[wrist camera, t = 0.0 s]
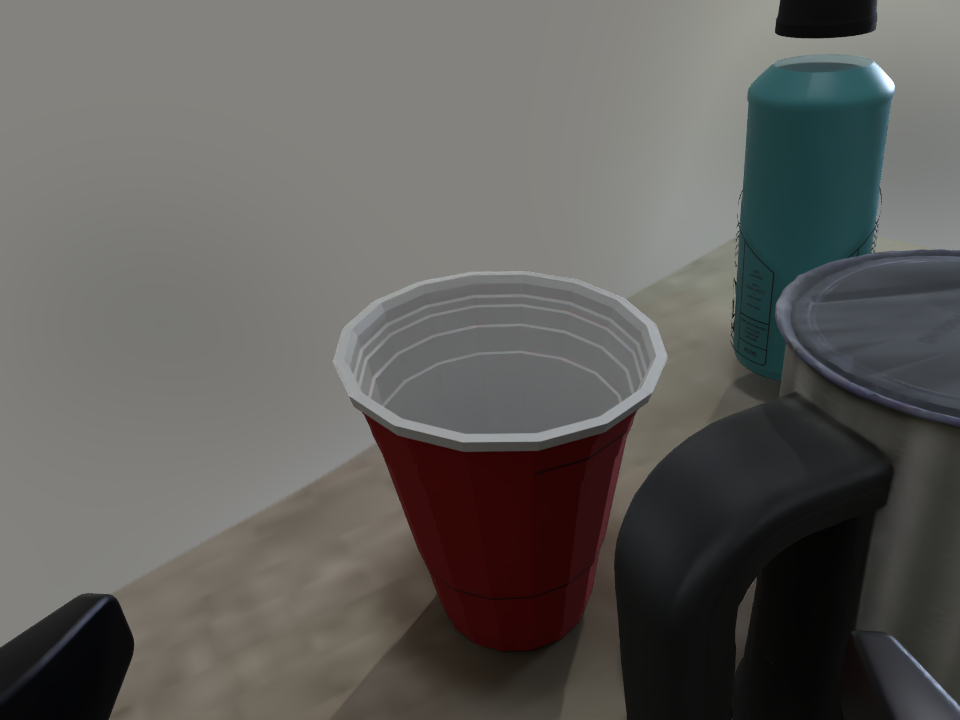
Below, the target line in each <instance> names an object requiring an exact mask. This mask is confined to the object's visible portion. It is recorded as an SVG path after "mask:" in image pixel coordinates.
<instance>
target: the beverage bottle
mask: <svg viewBox="0 0 960 720" xmlns="http://www.w3.org/2000/svg"><path fill="white" fill-rule="evenodd" d="M876 7H877V0H780V6H779V13H778V17H777V19H776V28H775V33H776V34H778V35H780V36H785V37H793V38H835V37H847V36H855V35H861V34H865V33H869V32H872V31H874V30H875V29H876V23H877V10H876V9H877V8H876ZM894 90H895V86H894V83H893V82H892V80H891V79H890V78H889V77H888V76H887V74H886V73H884V71H883V70H882V69H881V68H880V67H879V66H878V65H877V64H876V63H875V62H873V61H872V60H871V59H869V58H865V57H860V56H853V55H840V54H826V55H825V54H823V55H806V56H797V57H790V58H785V59H782V60H778V61H776V62H775V63H774V64H772V65H771V66H770V67H769V68H768V69H767V70H766V71H764V72H763V73H762V74H761V75H760V76H759V77H758V78H757V79H756V80H755V81H754V82H753V83H752V84H751V86H750V87H749V89H748V102H749V105H748V120H747V135H746V151H745V165H744V181H743V190H742V191H743V196H742V202H741V215H740V216H741V217H740V226H739V228H740V230H739V231H740V233H739V231H738V233H739V251H738V252H737V253H736V254H738V270H737V283H736V281H735V279H734V281H735V286H736V285H737V288H736V306H735V314H733V316H732V319H733V317H734V315H735V319H734V324H732V322H731V325H734V326H733V327H732V326H731V327H732V328H731V329H733V331H734V339H733V337H732V339H733V341H734V342H733V345H732V346H734V347H733V348H734V350H735V354H736V357H737V359H738V360H739V362H740V363H741V364H742V365H743V366H745V367H746V368H747V369H749V370H751V371H752V372H754V373H756V374H759V375H761V376H764V377H767V378H770V379H774V380H779V381H781V378H782V370H783V363H784V355H785V348H786V342H785V340H784V338H783V336H782V334H781V333H780V330H779V328H778V326H777V323H776V319H775V306H776V303H777V300H778V299H779V298H780V296H781V294H782V291H783V290H784V288H786V287H787V286H788V284H790V283H791V282H793V281H794V280H795V279H796V277H797V276H798V275H801V274H804V273H806V272H808V271H810V270H812V269H815V268H817V267H819V266H822V265H825V264H827V263H830V262H834V261H837V260H841V259H846V258H851V257H858V256H863V255H866V254H871V250H872V249H873V250H874V248H873V247H872V244H874V243H875V241H874V242H873V236H875V235H874V230H875V227H876V226H875V224H877V222H878V221H877V222H876V216H877V209H878V201H879V188H880V180H881V172H882V165H883V158H884V150H885V144H886V136H887V129H888V121H889V114H890V107H891V101H892V99H893V96H894ZM880 191H881V190H880ZM740 196H741V195H740ZM739 199H740V198H739ZM738 224H739V223H738ZM737 226H738V225H737ZM877 227H878V226H877ZM876 232H877V231H876ZM875 237H876V236H875ZM876 239H877V238H875V240H876ZM736 242H737V239H736ZM737 246H738V245H737ZM737 246H736V248H737ZM874 247H876V246H874ZM873 253H875V250H874V252H873ZM735 256H736V255H735ZM735 264H736V262H735ZM736 266H737V265H736ZM733 288H734V284H733ZM732 306H733V312H734V301H733V303H732ZM733 331H732V332H733ZM731 336H732V333H731ZM731 344H732V343H731Z"/></svg>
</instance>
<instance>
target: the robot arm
mask: <svg viewBox="0 0 960 720" xmlns="http://www.w3.org/2000/svg"><path fill="white" fill-rule="evenodd" d="M133 651H134V639H133V635H132V633H131V630H130V628H129V626H128V623H127V621H126V618H125V616H124V614H123V611H122V609H121V606H120V604H119V602H118V600H117V599H116V598H115V597H114V596H113V595H109V594H93V593H87V594H82V595H80V596H77V597H76V598H74V599H73V600H71V601H70V602H68V603H67V604H65V605H64V606H62V607H61V608H59V609H58V610H56V611H55V612H53V613H52V614H50V615H48V616H47V617H46V618H44V619H43V620H41V621H39V622H38V623H36V624H35V625H34V626H32V627H30V628H29V629H28V630H26V631H24V632H23V633H21V634H20V635H18V636H17V637H16V638H14V639H13V640H11V641H10V642H8V643H6V644H5V645H4V646H2V647H0V720H109V717H110V715H111V712H112V709H113V707H114V704H115V701H116V699H117V696H118V694H119V691H120V688H121V686H122V683H123V680H124V678H125V675H126V672H127V670H128V667H129V665H130V662H131V659H132V656H133ZM839 694H840V703H841V709H842V715H843V720H960V706H959V705H958V704H957V703H956V702H955V700H954V699H953V698H952V697H951V696H950V695H949V694H948V693H947V692H946V691H945V690H944V689H943V688H942V687H941V686H940V685H939V684H938V683H937V681H936V680H935V679H934V678H933V677H932V676H931V675H930V674H929V673H928V672H927V671H926V670H925V669H924V668H923V667H922V666H921V665H920V664H919V662H918V661H917V660H916V659H915V658H914V657H913V656H912V655H911V654H910V653H909V652H908V651H907V650H906V649H905V648H904V647H903V646H902V645H901V643H900V642H899V641H898V640H897V639H896V638H895V637H894V636H892V635H891V634H889V633H887V632H882V631H862V630H855V631H852V632H850V634H849V636H848V637H847V641H846V647H845V652H844V657H843V663H842V668H841V673H840V680H839Z"/></svg>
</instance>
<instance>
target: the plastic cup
mask: <svg viewBox="0 0 960 720" xmlns="http://www.w3.org/2000/svg"><path fill="white" fill-rule="evenodd" d="M667 358H668V357H667V354H666V351H665V348H664V345H663V342H662V339H661V337H660V334H659V331H658V328H657V325H656V324H655V323H654V322H653V321H651V320H650V319H649V318H648V317H647V316H645V315H644V314H643V313H642V312H641V311H639V310H638V309H637V308H636V307H635V306H633V305H632V304H631V303H630V302H629V301H627V300H626V299H625V298H623V297H621V296H618V295H616V294H613V293H611V292H608V291H606V290H603V289H601V288H598V287H595V286H593V285H590V284H588V283H585V282H583V281H580V280H576V279H571V278H565V277H558V276H552V275H546V274H540V273H534V272H528V271H495V272H467V273H462V274H457V275H452V276H447V277H441V278H436V279H431V280H426V281H420V282H417V283H414V284H412V285H410V286H408V287H405V288H403V289H401V290H398V291H396V292H394V293H391V294H389V295H387V296H384V297H382V298H380V299H378V300H375V301H373V302H372V303H371V304H370V305H369V306H367V307H366V308H365V309H364V310H363V311H362V312H361V313H360V314H358V315H357V316H356V317H355V318H354V319H353V320H352V321H350V322H349V323H348V324H347V325H346V326H345V327H344V328H343V329H342V332H341V336H340V339H339V342H338V345H337V349H336V352H335V355H334V358H333V363H334V366H335V368H336V370H337V372H338V374H339V376H340V378H341V380H342V382H343V384H344V387H345V389H346V391H347V393H348V395H349V397H350V399H351V401H352V403H353V406H354V407H355V408H357V409H358V410H360V411H361V412H362V413H363V414H364V416H365V418H366V420H367V422H368V424H369V426H370V428H371V431H372V434H373V437H374V439H375V441H376V442H377V444H378V446H379V448H380V450H381V452H382V454H383V457H384V459H385V462H386V465H387V467H388V470H389V473H390V476H391V478H392V481H393V484H394V486H395V489H396V492H397V494H398V497H399V500H400V502H401V505H402V508H403V510H404V513H405V516H406V518H407V521H408V524H409V526H410V529H411V532H412V534H413V537H414V540H415V542H416V545H417V548H418V550H419V552H420V554H421V556H422V558H423V560H424V562H425V564H426V566H427V568H428V570H429V572H430V575H431V578H432V581H433V583H434V586H435V589H436V591H437V594H438V597H439V599H440V601H441V603H442V605H443V607H444V609H445V611H446V613H447V615H448V617H449V619H450V620H451V621H452V622H453V624H454V626H455V628H456V629H457V630H458V631H459V632H461V633H462V634H463V635H465V636H466V637H467V638H469V639H470V640H471V641H473V642H474V643H475V644H478V645H482V646H485V647H489V648H492V649H496V650H499V651H523V650H534V649H537V648H539V647H542V646H544V645H547V644H550V643H552V642H555V641H557V640H560V639H561V638H562V637H563V636H564V635H565V634H566V633H568V632H569V631H570V630H571V629H572V628H573V627H574V626H575V625H576V624H578V623H579V621H580V618H581V616H582V613H583V611H584V609H585V606H586V604H587V601H588V599H589V596H590V594H591V592H592V588H593V583H594V577H595V572H596V566H597V561H598V556H599V550H600V548H601V545H602V543H603V541H604V538H605V534H606V529H607V524H608V520H609V515H610V511H611V506H612V502H613V497H614V493H615V488H616V483H617V479H618V474H619V470H620V465H621V461H622V456H623V452H624V447H625V442H626V438H627V435H628V433H629V431H630V428H631V426H632V423H633V420H634V416H635V414H636V412H637V410H638V409H639V408H640V407H642V406H643V405H645V404H646V403H648V401H649V399H650V397H651V394H652V392H653V390H654V388H655V386H656V383H657V381H658V379H659V376H660V374H661V372H662V370H663V367H664V365H665V363H666V360H667Z"/></svg>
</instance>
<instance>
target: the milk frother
mask: <svg viewBox="0 0 960 720" xmlns="http://www.w3.org/2000/svg"><path fill="white" fill-rule="evenodd" d="M775 319H776V323H777V326H778V328H779V330H780V333H781V334H782V336H783V338H784V340H785V342H786V348H785V355H784V363H783V370H782V378H781V386H780V393H779V398H777V399H774V400H771V401H769V402H766V403H763V404H761V405H758V406H755V407H752V408H750V409H747V410H744V411H741V412H739V413H736V414H733V415H730V416H727V417H725V418H723V419H721V420H718V421H716V422H714V423H712V424H710V425H708V426H706V427H705V428H703V429H702V430H700V431H698V432H697V433H695V434H694V435H692V436H690V437H689V438H688V439H686V440H685V441H684V442H683V443H681V444H680V445H679V446H677V447H676V448H675V449H674V450H673V451H672V452H670V453H669V454H668V455H667V456H666V457H665V458H664V459H663V460H662V461H661V462H659V464H658V465H657V466H656V467H655V468H654V469H653V471H652V472H651V473H650V474H649V475H648V477H647V478H646V480H645V481H644V483H643V484H642V485H641V487H640V488H639V489H638V491H637V492H636V493H635V495H634V497H633V499H632V501H631V503H630V506H629V508H628V510H627V512H626V515H625V517H624V520H623V523H622V525H621V528H620V532H619V535H618V539H617V543H616V550H615V561H614V571H615V590H616V598H617V610H618V622H619V637H620V649H621V663H622V671H623V682H624V693H625V702H626V710H627V720H731V704H732V714H733V720H843V715H842V709H841V703H840V694H839V680H840V673H841V668H842V663H843V657H844V652H845V647H846V641H847V637H848V636H849V634H850V632H852V631H855V630H862V631H882V632H887V633H889V634H891V635H892V636H894V637H895V638H896V639H897V640H898V641H899V642H900V643H901V645H902V646H903V647H904V648H905V649H906V650H907V651H908V652H909V653H910V654H911V655H912V656H913V657H914V658H915V659H916V660H917V661H918V662H919V664H920V665H921V666H922V667H923V668H924V669H925V670H926V671H927V672H928V673H929V674H930V675H931V676H932V677H933V678H934V679H935V680H936V681H937V683H938V684H939V685H940V686H941V687H942V688H943V689H944V690H945V691H946V692H947V693H948V694H949V695H950V696H951V697H952V698H953V699H954V700H955V702H956V703H957V704H958V705H959V706H960V250H954V251H953V250H952V251H951V250H943V249H940V250H911V251H888V252H878V253H874V254H866V255H863V256H858V257H851V258H846V259H841V260H837V261H834V262H830V263H827V264H825V265H822V266H819V267H817V268H815V269H812V270H810V271H808V272H806V273H804V274H801V275H798V276H797V277H796V279H795V280H794V281H793V282H791V283H790V284H788V286H787V287H786V288H784V290H783V291H782V294H781V296H780V298H779V299H778V300H777V303H776V306H775ZM756 577H757V584H756V590H755V595H754V602H753V607H752V613H751V619H750V625H749V630H748V636H747V641H746V646H745V652H744V657H743V658H742V660H741V662H740V664H739V666H738V669H737V671H736V674H735V657H736V645H735V627H736V619H737V611H738V606H739V604H740V603H741V601H742V600H743V598H744V595H745V593H746V591H747V590H748V588H749V587H750V585H751V584H752V582H753V581H754V580H755V578H756ZM734 674H735V678H734Z"/></svg>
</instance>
